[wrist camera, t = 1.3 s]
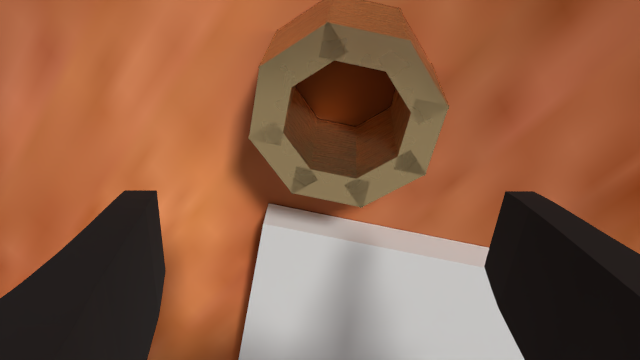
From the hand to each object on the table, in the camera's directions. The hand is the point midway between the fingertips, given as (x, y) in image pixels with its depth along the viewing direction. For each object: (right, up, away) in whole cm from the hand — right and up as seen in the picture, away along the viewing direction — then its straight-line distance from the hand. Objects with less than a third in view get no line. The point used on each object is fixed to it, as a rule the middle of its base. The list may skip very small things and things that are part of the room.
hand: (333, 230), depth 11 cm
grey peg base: (+4, -8, +16) cm, 18 cm away
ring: (+1, +5, +8) cm, 10 cm away
